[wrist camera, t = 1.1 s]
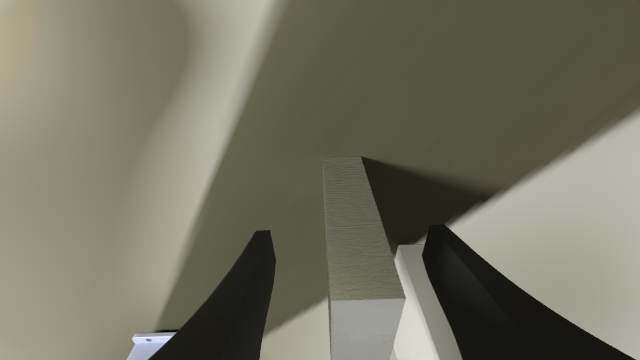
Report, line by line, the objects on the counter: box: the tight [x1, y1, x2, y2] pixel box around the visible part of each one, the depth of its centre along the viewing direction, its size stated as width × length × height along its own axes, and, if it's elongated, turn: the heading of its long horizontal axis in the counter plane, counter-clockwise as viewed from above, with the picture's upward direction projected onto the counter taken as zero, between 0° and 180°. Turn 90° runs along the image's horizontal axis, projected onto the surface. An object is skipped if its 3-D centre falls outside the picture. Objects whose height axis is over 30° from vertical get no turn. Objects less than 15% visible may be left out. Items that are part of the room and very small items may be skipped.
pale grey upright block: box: [323, 156, 406, 360], centre depth 11 cm, size 2×5×8 cm, turn 1°
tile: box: [393, 244, 462, 360], centre depth 16 cm, size 2×8×9 cm, turn 1°
